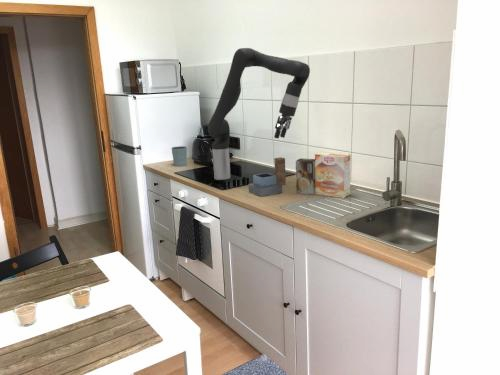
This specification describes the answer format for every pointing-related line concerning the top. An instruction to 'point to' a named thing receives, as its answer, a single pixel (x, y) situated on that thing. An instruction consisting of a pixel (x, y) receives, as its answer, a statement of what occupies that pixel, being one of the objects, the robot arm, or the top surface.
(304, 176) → the coffee box
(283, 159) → the walnut rail
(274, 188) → the cup bracket
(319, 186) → the coffeecake box
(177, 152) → the grey-blue cup
